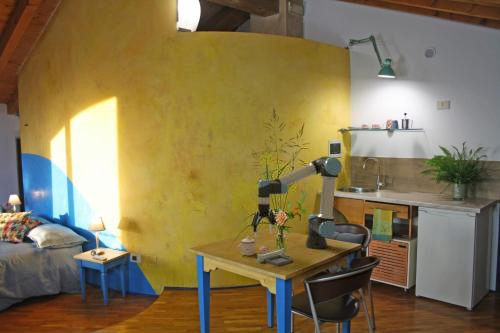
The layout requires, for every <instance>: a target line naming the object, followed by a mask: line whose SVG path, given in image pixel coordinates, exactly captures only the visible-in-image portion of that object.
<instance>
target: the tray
mask: <svg viewBox="0 0 500 333" xmlns="http://www.w3.org/2000/svg"><path fill="white" fill-rule="evenodd" d="M263 262H264V263H266V264H269V265H273V266H276V267H280V266H283V265H286V264H290V263H293V262H294V258H291V257H288V256H286V255H285V256H281V255H278V256H274V257H271V258H267V259H264V261H263Z"/></svg>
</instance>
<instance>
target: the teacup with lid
mask: <svg viewBox="0 0 500 333" xmlns="http://www.w3.org/2000/svg"><path fill="white" fill-rule="evenodd" d="M255 240H256V239H253V238H251V237H250V236H249V235H247V236H246V238H244V239H241V243H240V244H238V246H237V249H238V251H239V252H241V254H242V255H243V256H253V255H255V249H256V246H255V245H256V244H255V242H256V241H255ZM240 247H241V249H240Z"/></svg>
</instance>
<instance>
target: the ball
mask: <svg viewBox="0 0 500 333" xmlns="http://www.w3.org/2000/svg"><path fill="white" fill-rule="evenodd" d="M258 251H259V254H260V255H263V254H267V253H270V250H269V248H268V246H266V245H263V246H261V247H259V250H258Z"/></svg>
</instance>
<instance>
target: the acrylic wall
mask: <svg viewBox="0 0 500 333" xmlns="http://www.w3.org/2000/svg"><path fill="white" fill-rule="evenodd" d="M285 249H286V248H282V247H281V248H280V249H279V250H275V251H271V252H269V253H267V254H263V255H261V254H260V253H259V254H257V256H256V258H257V263H263V262H264V259H267V258H271V257H274V256H278V255H281V256H285V257H286V255H285V254H286V252H285V251H286V250H285Z"/></svg>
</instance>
